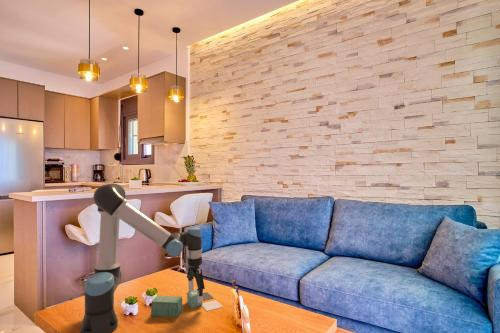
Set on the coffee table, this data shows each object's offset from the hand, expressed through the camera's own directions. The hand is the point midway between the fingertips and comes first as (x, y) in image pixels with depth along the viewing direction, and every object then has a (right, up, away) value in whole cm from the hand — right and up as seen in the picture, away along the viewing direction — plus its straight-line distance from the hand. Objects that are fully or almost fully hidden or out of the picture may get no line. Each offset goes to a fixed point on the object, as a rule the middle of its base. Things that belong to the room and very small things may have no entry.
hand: (195, 297), depth 155 cm
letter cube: (0, -4, 0) cm, 4 cm away
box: (-12, -4, -9) cm, 16 cm away
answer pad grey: (+9, -4, -2) cm, 10 cm away
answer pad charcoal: (+2, -4, +9) cm, 10 cm away
